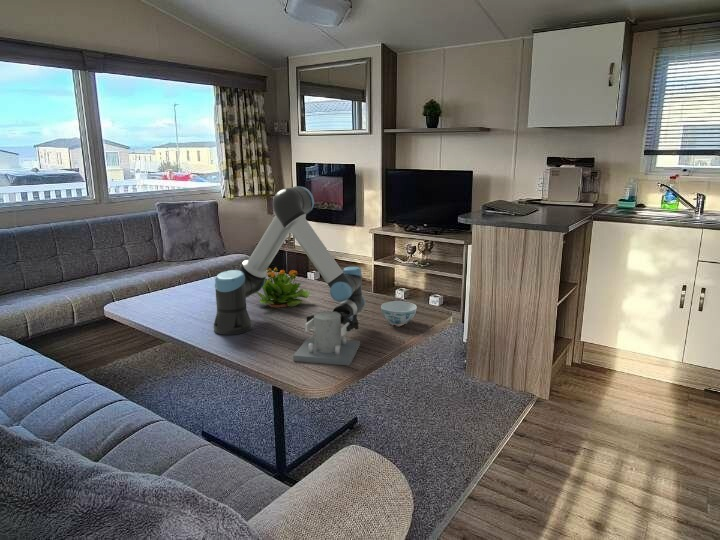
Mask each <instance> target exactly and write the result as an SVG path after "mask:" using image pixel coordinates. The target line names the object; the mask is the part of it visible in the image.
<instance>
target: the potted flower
mask: <svg viewBox="0 0 720 540" xmlns="http://www.w3.org/2000/svg"><path fill="white" fill-rule="evenodd" d="M266 271H267V277H268V278H265V284H264V286H263V287H262V288H261V289H262V291H263V294H262V293H260V292H259V291H258V292H257V293H256V295H258V296H259V297H260V299H259V303H260V304H267V305H269V307H270V308H274V307H275V308H277V309H278V308H280V307H281V308H286V307H296V306H298V305H300V304H301V303H304V302H303V299H300V298H306V299H308V297H309V295H310V293H311V291H309V290H307V289H305V290H304V289H303V288H300V286H301V282H298V283H297V281H295V279H297V278H296V277H297V275H298V271H297V270H294V269H292V270H290V271H289V272H288V274H287V273H286V270H284V269H281V270H278V268H277V267H274V268H273V270H272V268H269V267H268V268H267V270H266ZM278 271H279V272H278ZM292 281H293V283H292ZM299 288H300V289H299Z"/></svg>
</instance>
